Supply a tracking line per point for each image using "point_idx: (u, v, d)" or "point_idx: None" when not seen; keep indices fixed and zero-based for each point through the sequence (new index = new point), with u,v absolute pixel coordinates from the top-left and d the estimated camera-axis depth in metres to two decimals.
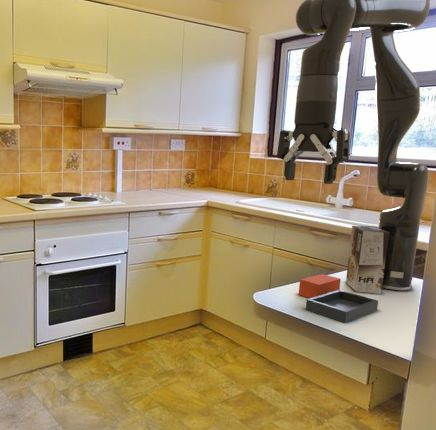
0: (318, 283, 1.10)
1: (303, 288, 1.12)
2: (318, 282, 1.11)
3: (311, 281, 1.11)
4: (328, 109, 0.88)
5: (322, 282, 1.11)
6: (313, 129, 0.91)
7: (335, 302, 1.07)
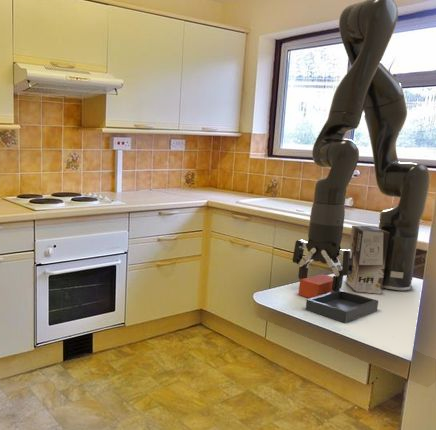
0: (318, 283, 1.10)
1: (303, 288, 1.12)
2: (318, 282, 1.11)
3: (311, 281, 1.11)
4: (336, 232, 1.08)
5: (322, 282, 1.11)
6: (324, 245, 1.11)
7: (335, 302, 1.07)
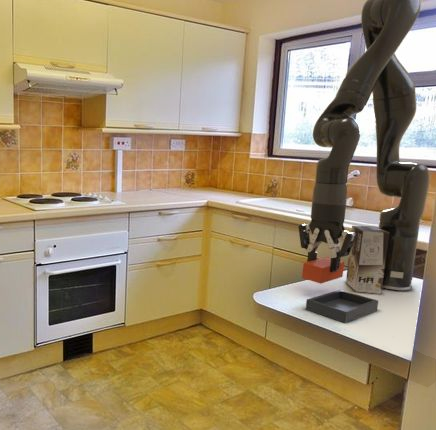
0: (322, 266, 1.10)
1: (306, 271, 1.12)
2: (322, 265, 1.11)
3: (315, 264, 1.11)
4: (339, 211, 1.08)
5: (326, 265, 1.11)
6: (327, 225, 1.11)
7: (335, 302, 1.07)
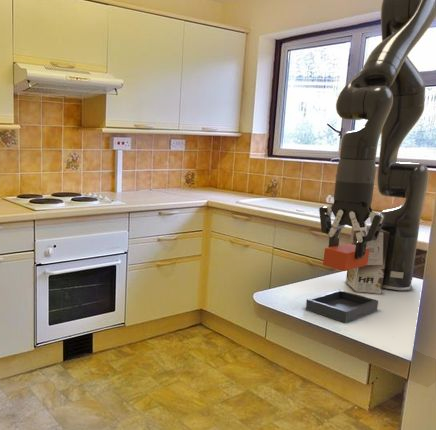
0: (346, 252, 0.99)
1: (328, 258, 1.01)
2: (346, 251, 0.99)
3: (338, 250, 1.00)
4: (366, 190, 0.97)
5: (350, 251, 1.00)
6: (352, 206, 1.00)
7: (335, 302, 1.07)
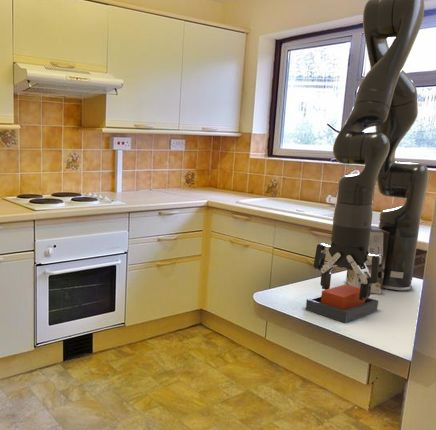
0: (342, 295, 0.99)
1: (325, 300, 1.02)
2: (342, 294, 1.00)
3: (334, 293, 1.01)
4: (363, 235, 0.97)
5: (347, 294, 1.00)
6: (349, 250, 1.00)
7: None
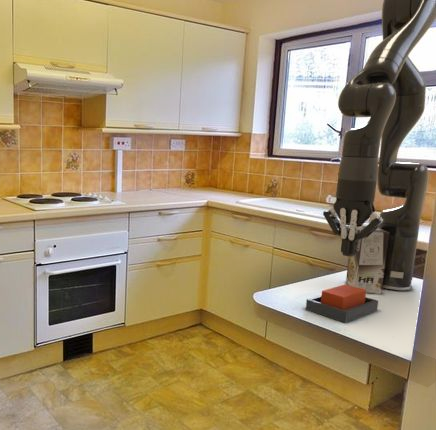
0: (342, 295, 0.99)
1: (325, 300, 1.02)
2: (342, 294, 1.00)
3: (334, 293, 1.01)
4: (369, 188, 0.96)
5: (347, 294, 1.00)
6: (354, 205, 0.99)
7: None
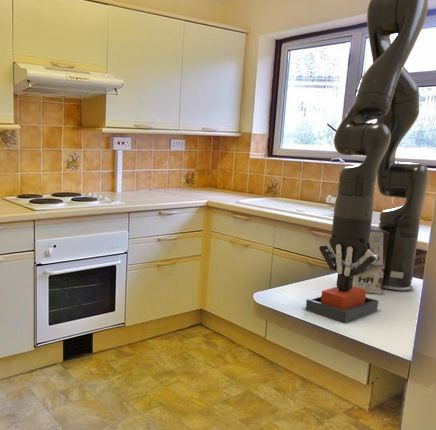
0: (342, 295, 0.99)
1: (325, 300, 1.02)
2: (342, 294, 1.00)
3: (334, 293, 1.01)
4: (364, 226, 0.97)
5: (347, 294, 1.00)
6: (350, 241, 1.00)
7: None
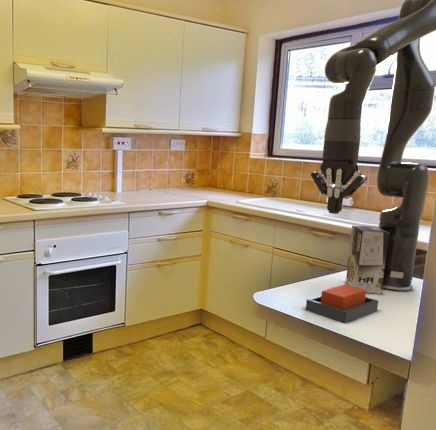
0: (342, 295, 0.99)
1: (325, 300, 1.02)
2: (342, 294, 1.00)
3: (334, 293, 1.01)
4: (352, 148, 1.03)
5: (347, 294, 1.00)
6: (339, 164, 1.06)
7: None
